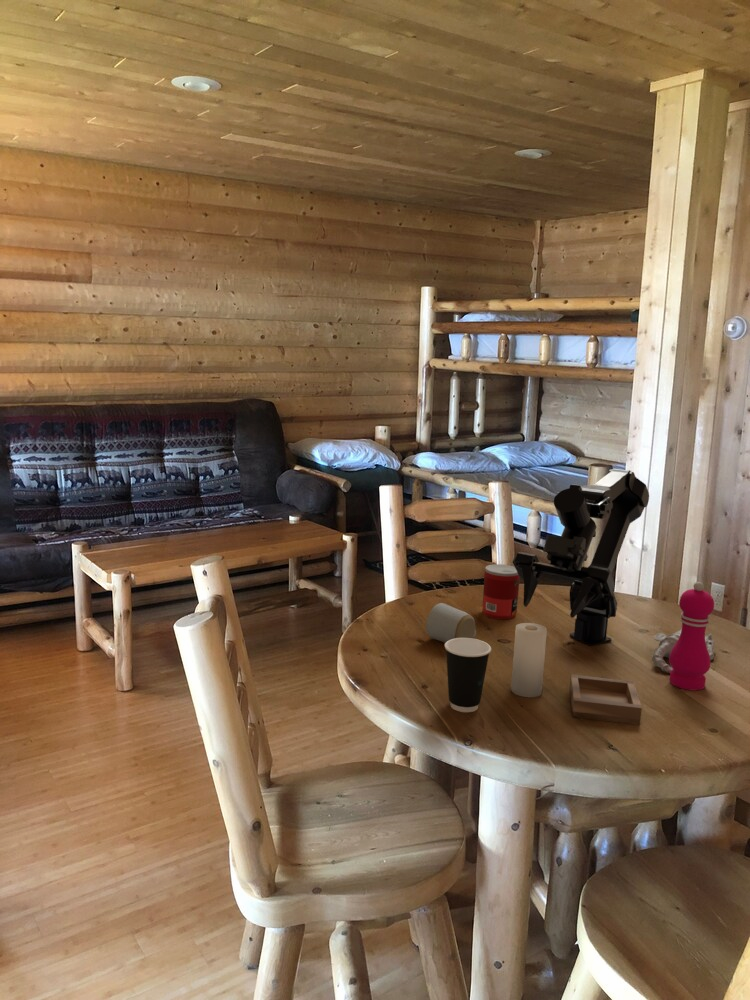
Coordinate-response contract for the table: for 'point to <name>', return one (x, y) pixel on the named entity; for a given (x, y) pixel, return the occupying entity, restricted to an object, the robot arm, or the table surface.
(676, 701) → the table surface
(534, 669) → the paper roll
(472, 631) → the ceramic mug
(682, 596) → the pepper mill
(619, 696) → the tray
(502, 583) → the canned food
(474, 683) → the dixie cup
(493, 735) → the table surface
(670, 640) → the seahorse
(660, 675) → the table surface
